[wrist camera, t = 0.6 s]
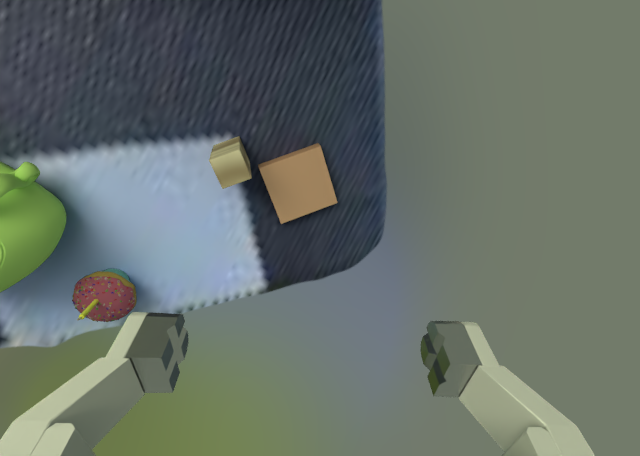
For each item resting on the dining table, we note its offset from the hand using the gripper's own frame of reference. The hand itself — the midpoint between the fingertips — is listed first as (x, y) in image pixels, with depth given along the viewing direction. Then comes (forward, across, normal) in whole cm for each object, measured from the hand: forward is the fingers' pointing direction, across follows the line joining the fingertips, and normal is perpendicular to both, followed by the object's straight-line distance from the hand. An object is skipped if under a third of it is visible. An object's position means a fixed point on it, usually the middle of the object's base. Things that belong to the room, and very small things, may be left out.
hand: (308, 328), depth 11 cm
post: (+41, +11, +12) cm, 44 cm away
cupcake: (+34, +30, +32) cm, 56 cm away
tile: (+42, +1, +17) cm, 46 cm away
